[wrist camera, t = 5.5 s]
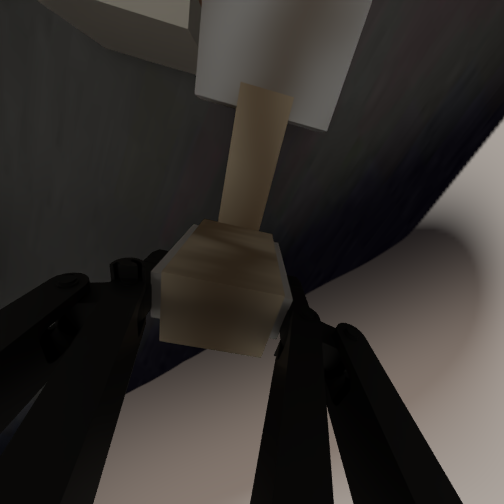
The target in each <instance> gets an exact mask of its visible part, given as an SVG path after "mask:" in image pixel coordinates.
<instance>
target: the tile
mask: <svg viewBox="0 0 504 504" xmlns="http://www.w3.org/2000/svg"><path fill="white" fill-rule="evenodd" d="M37 1H39V2H40V3H41V4H43V5H44V6H46V7H47V8H49V9H50V10H51V11H53V12H54V13H56V14H57V15H59V16H60V17H62V18H63V19H64V20H66V21H67V22H69V23H70V24H72V25H73V26H74V27H76V28H77V29H79V30H80V31H82V32H83V33H84V34H86V35H87V36H89V37H90V38H92V39H93V40H94V41H96V42H97V43H99V44H100V45H102V46H103V47H104V48H106V49H109V50H113V51H116V52H119V53H123V54H126V55H130V56H133V57H136V58H140V59H143V60H147V61H150V62H153V63H157V64H160V65H164V66H167V67H170V68H174V69H177V70H181V71H184V72H187V73H191V74H194V75H196V71H197V59H198V46H199V34H200V22H201V9H202V0H37Z"/></svg>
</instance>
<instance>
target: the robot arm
mask: <svg viewBox="0 0 504 504" xmlns="http://www.w3.org/2000/svg"><path fill="white" fill-rule="evenodd" d="M198 226H199V225H195V224H193V225H192V226H191V227H190V229H189V230H188V231H187V232H186V233H185V234H184V235H183V236H182V237H181V239H180V240H179V241H178V242H177V243H176V244H175V245H174V246H173V247H172V249H171V250H170V251H165V250H160V249H159V250H157V251H155V252H152V253H151V254H150V255H149V256H148V257H147V258H146V259H145V260H144V261H142V260H140V259H137V258H122V259H118V260H115V261H113V262H112V263H111V264H110V273H111V282H105V283H90V282H89V277H88V276H87V275H85V274H82V273H66V274H62V275H58V276H56V277H53V278H51V279H49V280H48V281H46V282H45V283H43V284H41V285H40V286H38V287H36V288H35V289H33V290H32V291H30V292H28V293H27V294H25V295H23V296H22V297H20V298H19V299H17V300H15V301H14V302H12V303H10V304H9V305H7V306H6V307H4V308H2V309H1V310H0V433H1V432H2V431H3V430H4V429H5V428H6V427H7V426H8V425H9V423H10V422H11V421H12V420H13V419H14V418H15V417H16V416H17V415H18V414H19V412H20V411H21V410H22V409H23V408H24V407H25V406H26V405H27V404H28V402H29V401H30V400H31V399H32V398H33V397H34V396H35V395H36V394H37V392H38V391H39V390H40V389H41V388H42V387H43V386H44V385H45V384H46V385H45V387H44V388H43V390H42V391H41V393H40V394H39V396H38V398H37V399H36V401H35V402H34V404H33V406H32V407H31V409H30V410H29V412H28V413H27V415H26V417H25V418H24V420H23V421H22V423H21V425H20V426H19V428H18V429H17V431H16V433H15V434H14V436H13V437H12V439H11V440H10V442H9V444H8V445H7V447H6V448H5V450H4V452H3V453H2V455H1V456H0V504H93V502H94V498H95V495H96V492H97V489H98V485H99V482H100V478H101V475H102V471H103V468H104V465H105V461H106V458H107V455H108V451H109V448H110V444H111V441H112V437H113V434H114V431H115V427H116V424H117V420H118V417H119V413H120V410H121V406H122V403H123V400H124V396H125V393H126V390H127V386H128V383H129V379H130V376H131V373H132V369H133V366H134V362H135V359H136V356H137V352H138V349H139V345H140V342H141V338H142V335H143V332H144V328H145V325H146V315H147V314H148V312H149V311H150V309H151V317H155V318H160V305H161V272H162V270H163V269H164V268H165V267H166V265H167V264H168V263H169V262H170V260H171V259H172V258H173V257H174V256H175V254H176V253H177V252H178V251H179V249H180V248H181V247H182V246H183V244H184V243H185V242H186V241H187V239H188V238H189V237H190V236H191V234H192V233H193V232H194V231H195V229H196V228H197V227H198ZM274 246H275V251H276V256H277V260H278V265H279V270H280V275H281V279H282V284H283V289H284V294H285V298H284V300H283V303H282V305H281V308H280V310H279V313H278V315H277V318H276V321H275V323H274V326H273V328H272V331H271V333H270V336H269V338H273V339H277V337H278V334H279V332H280V339H281V340H280V342H279V345H278V347H277V349H276V351H275V354H274V356H276V359H275V365H274V371H273V376H272V382H271V388H270V394H269V400H268V405H267V411H266V416H265V422H264V428H263V434H262V439H261V445H260V451H259V456H258V462H257V468H256V473H255V479H254V485H253V490H252V496H251V501H250V504H334V500H333V486H332V472H331V460H330V445H329V432H328V419H327V408H328V412H329V416H330V419H331V423H332V426H333V430H334V434H335V438H336V441H337V445H338V448H339V452H340V455H341V460H342V463H343V467H344V470H345V474H346V478H347V481H348V484H349V489H350V492H351V496H352V500H353V503H354V504H463V503H462V501H461V500H460V498H459V496H458V494H457V493H456V491H455V489H454V488H453V486H452V484H451V482H450V481H449V479H448V477H447V476H446V474H445V472H444V471H443V469H442V467H441V465H440V464H439V462H438V461H437V459H436V457H435V455H434V454H433V452H432V450H431V448H430V447H429V445H428V443H427V442H426V440H425V438H424V437H423V435H422V433H421V432H420V430H419V428H418V426H417V425H416V423H415V421H414V420H413V418H412V416H411V414H410V413H409V411H408V410H407V408H406V406H405V404H404V403H403V401H402V399H401V397H400V396H399V394H398V393H397V391H396V389H395V387H394V386H393V384H392V382H391V380H390V379H389V377H388V376H387V374H386V372H385V370H384V369H383V367H382V365H381V363H380V362H379V360H378V358H377V357H376V355H375V353H374V351H373V350H372V348H371V346H370V345H369V343H368V341H367V340H366V338H365V336H364V335H363V334H362V333H361V332H360V331H359V330H358V329H357V328H356V327H354V326H352V325H350V324H347V323H340V324H338V325H337V327H336V328H334V327H332V326H330V325H327V324H325V323H323V322H321V321H320V318H319V316H318V314H317V313H316V312H315V311H314V310H312V309H311V308H309V306H308V302H307V300H306V297H305V294H304V291H303V289H302V285H301V283H300V281H299V280H298V279H297V278H296V277H293V276H288V275H286V271H285V267H284V263H283V259H282V256H281V252H280V248H279V244H278V243H276V242H274ZM54 322H55V323H54ZM53 323H54V324H53ZM52 324H53V325H52ZM51 325H52V326H51ZM49 326H51V327H49ZM48 327H49V328H48ZM47 381H48V382H47Z"/></svg>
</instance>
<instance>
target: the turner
mask: <svg viewBox="0 0 504 504" xmlns="http://www.w3.org/2000/svg"><path fill="white" fill-rule="evenodd" d="M371 3H372V0H202V9H201V22H200V34H199V46H198V59H197V71H196V84H195V95H196V96H197V97H198V98H199V99H202V100H206V101H210V102H213V103H217V104H220V105H224V106H227V107H231V108H235V109H236V114H235V120H234V126H233V132H232V138H231V145H230V151H229V157H228V163H227V169H226V176H225V182H224V188H223V194H222V200H221V207H220V213H219V219H218V222H216V221H212V220H207V219H204V220H203V221H202V222H201V223H200V225H199V226H198V227H197V228H196V229H195V231H194V232H193V233H192V234H191V236H190V237H189V238H188V239H187V241H186V242H185V243H184V244H183V246H182V247H181V248H180V249H179V251H178V252H177V253H176V254H175V256H174V257H173V258H172V259H171V260H170V262H169V263H168V264H167V265H166V267H165V268H164V269H163V270H162V272H161V305H160V340H159V341H164V342H170V343H176V344H182V345H188V346H194V347H199V348H205V349H211V350H218V351H224V352H229V353H235V354H241V355H247V356H253V357H259V358H261V356H262V354H263V351H264V349H265V346H266V343H267V341H268V338H269V336H270V333H271V331H272V328H273V326H274V323H275V321H276V318H277V315H278V313H279V310H280V308H281V305H282V303H283V300H284V298H285V294H284V289H283V284H282V279H281V275H280V270H279V265H278V260H277V256H276V251H275V246H274V241H273V236H272V234H269V233H265V232H260V231H259V228H260V225H261V221H262V217H263V213H264V210H265V206H266V202H267V198H268V194H269V191H270V187H271V183H272V179H273V176H274V172H275V168H276V164H277V161H278V157H279V153H280V149H281V145H282V142H283V138H284V134H285V130H286V127H287V123H288V124H292V125H295V126H299V127H302V128H306V129H309V130H313V131H317V132H320V133H323V132H326V131H327V129H328V127H329V124H330V121H331V118H332V115H333V112H334V109H335V106H336V104H337V101H338V98H339V95H340V92H341V89H342V86H343V83H344V81H345V78H346V75H347V72H348V69H349V66H350V63H351V60H352V57H353V55H354V52H355V49H356V46H357V43H358V40H359V37H360V34H361V32H362V29H363V26H364V23H365V20H366V17H367V14H368V11H369V8H370V6H371Z"/></svg>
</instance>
